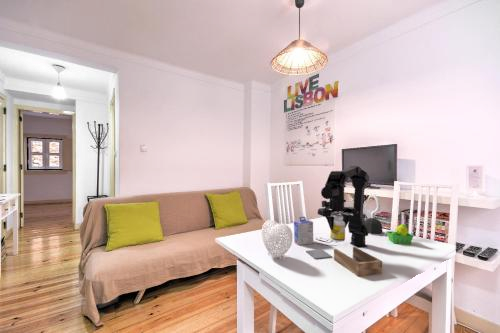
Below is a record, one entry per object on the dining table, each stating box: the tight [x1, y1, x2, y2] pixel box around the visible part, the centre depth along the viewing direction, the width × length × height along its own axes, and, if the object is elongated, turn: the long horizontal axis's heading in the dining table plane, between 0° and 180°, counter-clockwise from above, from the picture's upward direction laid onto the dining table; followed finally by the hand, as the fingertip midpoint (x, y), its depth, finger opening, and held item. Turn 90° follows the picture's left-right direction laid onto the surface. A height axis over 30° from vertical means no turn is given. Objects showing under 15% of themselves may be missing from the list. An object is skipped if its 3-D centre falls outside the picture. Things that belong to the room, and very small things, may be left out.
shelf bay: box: [333, 246, 383, 277], centre depth 98 cm, size 11×16×5 cm
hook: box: [365, 194, 384, 236], centre depth 146 cm, size 11×11×25 cm
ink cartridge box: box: [293, 216, 314, 246], centre depth 127 cm, size 10×6×14 cm, turn 108°
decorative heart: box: [261, 219, 294, 262], centre depth 106 cm, size 18×11×17 cm, turn 35°
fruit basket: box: [386, 223, 414, 245], centre depth 128 cm, size 11×9×11 cm
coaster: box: [305, 248, 333, 260], centre depth 110 cm, size 9×9×1 cm
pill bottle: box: [330, 214, 346, 243], centre depth 108 cm, size 6×6×12 cm
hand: (337, 229), depth 108 cm, fingers closed on pill bottle, 6 cm apart
